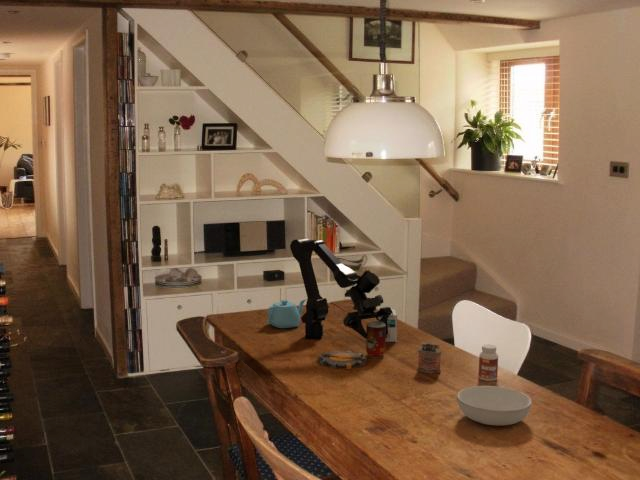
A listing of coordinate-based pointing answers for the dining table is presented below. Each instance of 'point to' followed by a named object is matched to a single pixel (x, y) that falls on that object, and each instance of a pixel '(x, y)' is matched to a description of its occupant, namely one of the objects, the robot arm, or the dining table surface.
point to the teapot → (285, 314)
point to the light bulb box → (392, 327)
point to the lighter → (429, 358)
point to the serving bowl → (494, 404)
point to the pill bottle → (488, 363)
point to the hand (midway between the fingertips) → (377, 336)
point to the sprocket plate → (341, 359)
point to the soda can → (375, 339)
